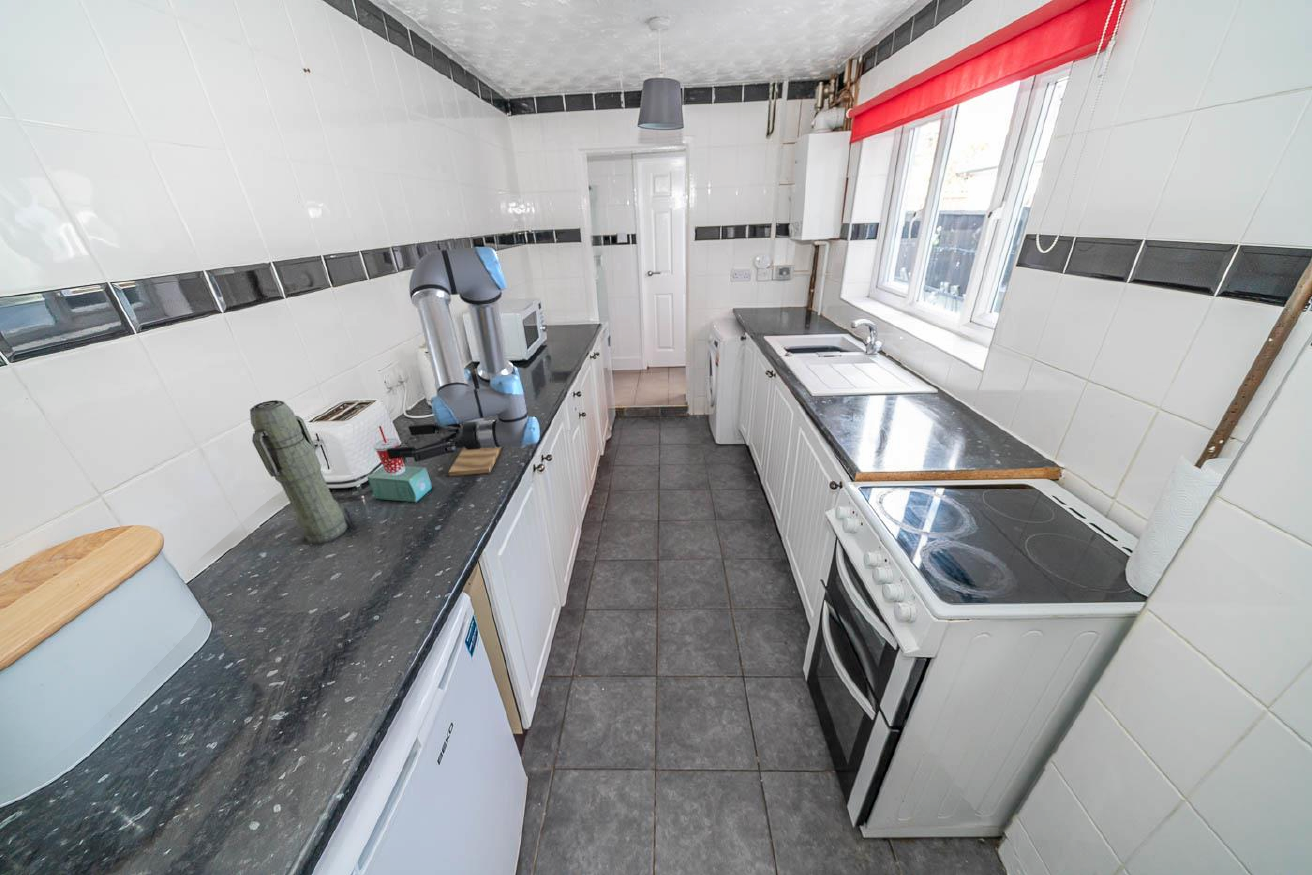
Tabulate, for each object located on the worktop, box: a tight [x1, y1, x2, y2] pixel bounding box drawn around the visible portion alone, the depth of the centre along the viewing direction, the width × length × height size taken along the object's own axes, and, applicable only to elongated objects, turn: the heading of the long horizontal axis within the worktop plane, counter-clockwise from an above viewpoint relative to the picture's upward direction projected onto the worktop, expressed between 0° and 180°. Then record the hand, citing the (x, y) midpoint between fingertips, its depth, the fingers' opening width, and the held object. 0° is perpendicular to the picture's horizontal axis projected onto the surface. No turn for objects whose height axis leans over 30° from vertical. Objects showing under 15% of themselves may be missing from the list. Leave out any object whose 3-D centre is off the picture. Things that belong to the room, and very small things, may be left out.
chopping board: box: [448, 446, 503, 477], centre depth 144 cm, size 18×12×2 cm, turn 5°
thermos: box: [249, 399, 348, 545], centre depth 106 cm, size 9×12×35 cm
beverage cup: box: [372, 425, 406, 476], centre depth 122 cm, size 6×6×14 cm
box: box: [366, 465, 432, 503], centre depth 127 cm, size 7×14×8 cm, turn 79°
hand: (399, 441), depth 121 cm, fingers open, 13 cm apart
